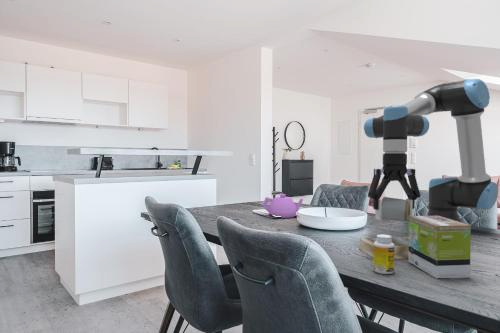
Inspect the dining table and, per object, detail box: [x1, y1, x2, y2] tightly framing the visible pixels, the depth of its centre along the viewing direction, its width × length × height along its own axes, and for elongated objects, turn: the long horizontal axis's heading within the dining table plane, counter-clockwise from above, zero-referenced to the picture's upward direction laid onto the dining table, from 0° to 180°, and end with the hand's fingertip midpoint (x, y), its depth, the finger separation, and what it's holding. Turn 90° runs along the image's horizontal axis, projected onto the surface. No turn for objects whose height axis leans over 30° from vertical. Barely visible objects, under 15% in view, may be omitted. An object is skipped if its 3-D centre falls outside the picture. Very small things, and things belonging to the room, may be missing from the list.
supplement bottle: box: [372, 234, 395, 275], centre depth 103 cm, size 6×6×10 cm
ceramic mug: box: [381, 196, 409, 222], centre depth 122 cm, size 11×8×8 cm
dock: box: [359, 236, 409, 260], centre depth 122 cm, size 18×12×4 cm, turn 99°
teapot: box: [262, 193, 304, 219], centre depth 198 cm, size 22×16×12 cm
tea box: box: [408, 215, 472, 279], centre depth 104 cm, size 15×10×15 cm, turn 5°
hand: (393, 219), depth 121 cm, fingers closed on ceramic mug, 10 cm apart
